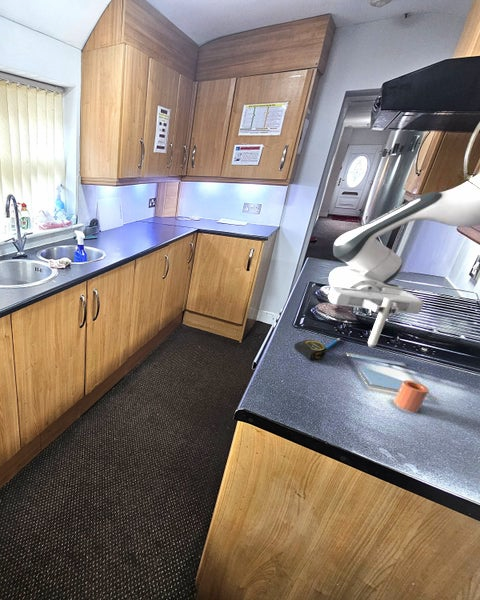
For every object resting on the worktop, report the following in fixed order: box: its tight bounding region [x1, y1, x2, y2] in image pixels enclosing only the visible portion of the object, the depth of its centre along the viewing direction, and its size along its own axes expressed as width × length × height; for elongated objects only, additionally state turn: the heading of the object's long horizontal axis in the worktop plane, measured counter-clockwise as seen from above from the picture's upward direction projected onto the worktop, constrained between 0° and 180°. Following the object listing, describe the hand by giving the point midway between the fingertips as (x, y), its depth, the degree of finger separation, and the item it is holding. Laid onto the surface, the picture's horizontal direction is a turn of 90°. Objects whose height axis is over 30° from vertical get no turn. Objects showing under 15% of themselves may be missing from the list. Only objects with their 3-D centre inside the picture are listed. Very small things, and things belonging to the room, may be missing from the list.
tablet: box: [344, 352, 439, 401], centre depth 90 cm, size 14×18×1 cm
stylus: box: [367, 297, 394, 348], centre depth 86 cm, size 2×2×14 cm
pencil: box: [325, 337, 341, 350], centre depth 103 cm, size 1×17×1 cm, turn 124°
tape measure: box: [293, 339, 327, 362], centre depth 98 cm, size 7×7×4 cm
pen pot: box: [393, 380, 430, 413], centre depth 77 cm, size 4×4×6 cm
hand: (387, 310), depth 84 cm, fingers closed on stylus, 2 cm apart
